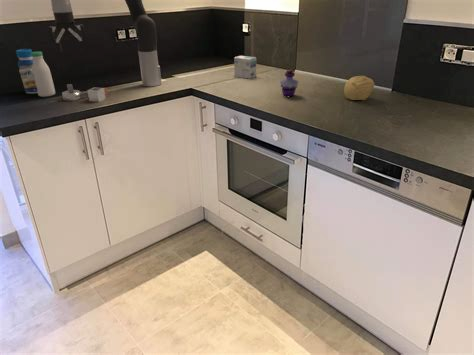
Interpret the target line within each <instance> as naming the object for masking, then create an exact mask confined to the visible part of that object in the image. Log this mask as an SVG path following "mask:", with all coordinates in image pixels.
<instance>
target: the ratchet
mask: <svg viewBox="0 0 474 355" xmlns="http://www.w3.org/2000/svg"><path fill="white" fill-rule="evenodd" d="M66 87H67V90H65V91H62V92H61V95H62V100H63V101H65V102H75V101H79V100H81V99H86V98H89V96H88V91H87V90H86V91H80V89H79V90H78V89H74V87H73V84H72V83H70V84H69V83H68V84H66ZM103 88H104V91H105V96H108V95H109V94H108V93H109V92H108V88H106V87H103Z"/></svg>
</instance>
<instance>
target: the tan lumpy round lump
mask: <svg viewBox="0 0 474 355" xmlns="http://www.w3.org/2000/svg"><path fill="white" fill-rule="evenodd" d="M374 86H375V82H374V80H373V79H372V78H370V77H367V76H365V75H357V76H352V77H351V78H349V79H348V80H347V81H346V82H345V85H344V88H343V90H344V91H343V92H344V95H345V96H346V99H348V100H351V101H353V100H363V101H365V100H367V98H369V96H370V95H371V93H372V92H373V91H374Z"/></svg>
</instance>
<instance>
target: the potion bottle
mask: <svg viewBox="0 0 474 355" xmlns="http://www.w3.org/2000/svg"><path fill="white" fill-rule="evenodd" d="M284 76H285V77H286V78H284V79H281V80H280V81H279V82H280V87H281V91H282V96H283V95H284V96H289V97H288V98H291V97H290V96H295V94H296V93H295V92H296V90H297V88H298V84H299V80H297V79H294V77H295V72H294V70H293V69H287V70H286V72H285V73H284ZM284 96H283V97H284Z"/></svg>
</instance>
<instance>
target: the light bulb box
mask: <svg viewBox="0 0 474 355" xmlns="http://www.w3.org/2000/svg"><path fill="white" fill-rule="evenodd" d="M233 59H234V63H233V65H234V78H241V79H247V78H248V79H249V80H251V79H254V78H255V77H257V57H256V56H245V55H238V56H235V57H233Z"/></svg>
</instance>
